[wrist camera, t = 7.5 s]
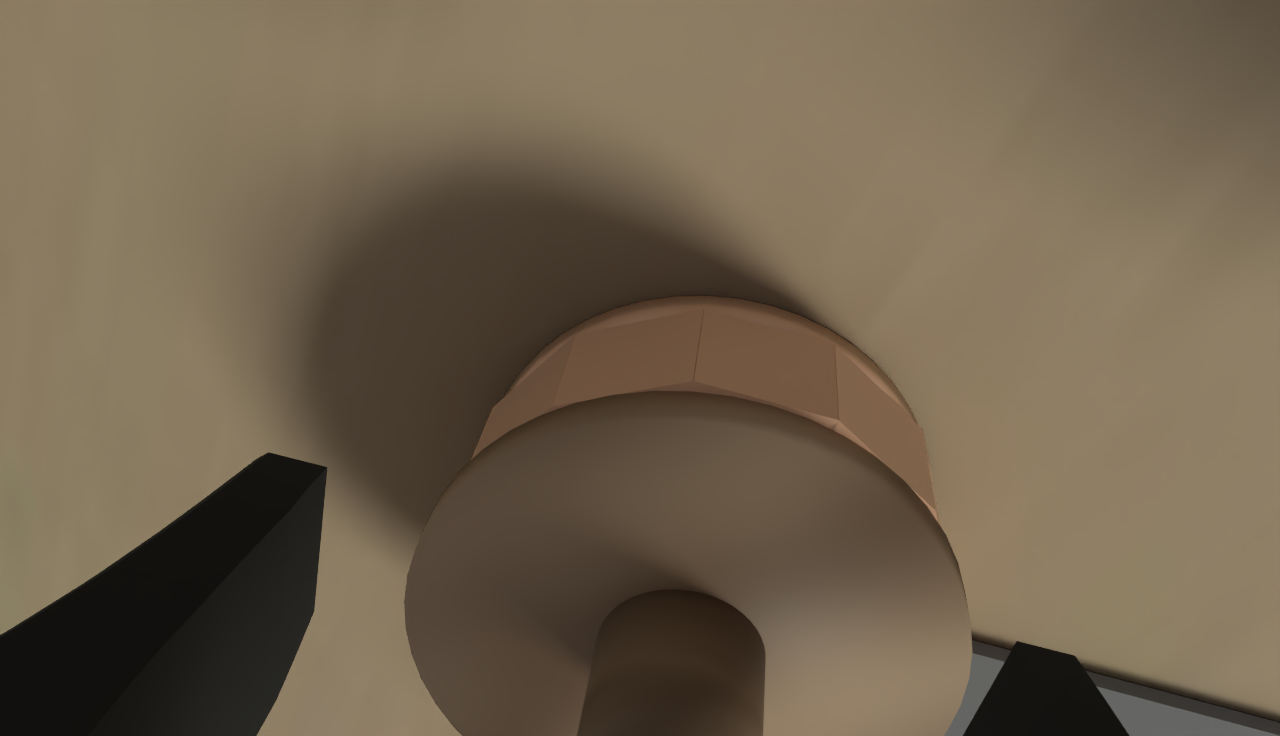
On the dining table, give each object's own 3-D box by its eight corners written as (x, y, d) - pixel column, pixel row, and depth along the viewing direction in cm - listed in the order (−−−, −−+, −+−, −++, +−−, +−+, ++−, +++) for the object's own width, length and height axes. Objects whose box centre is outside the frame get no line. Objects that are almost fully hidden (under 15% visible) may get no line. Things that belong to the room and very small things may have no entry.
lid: (1090, 617, 20) (1157, 833, 16) (718, 865, 24) (705, 1074, 21) (635, 275, 17) (591, 437, 14) (321, 624, 22) (227, 813, 18)
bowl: (1005, 370, 21) (1036, 474, 18) (843, 692, 26) (847, 813, 23) (532, 240, 21) (492, 325, 18) (457, 589, 25) (417, 699, 23)
